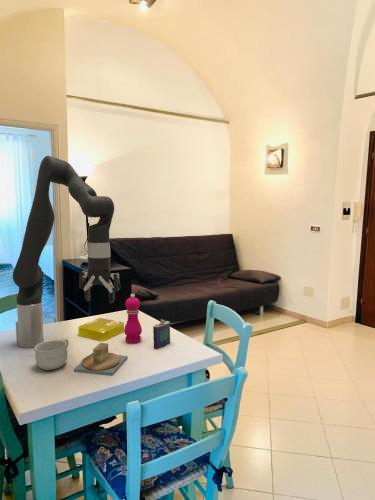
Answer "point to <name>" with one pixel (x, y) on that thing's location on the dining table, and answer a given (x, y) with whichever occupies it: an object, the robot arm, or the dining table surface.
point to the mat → (103, 372)
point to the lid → (101, 359)
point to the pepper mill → (132, 321)
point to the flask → (161, 334)
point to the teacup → (51, 354)
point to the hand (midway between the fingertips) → (99, 301)
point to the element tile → (101, 329)
